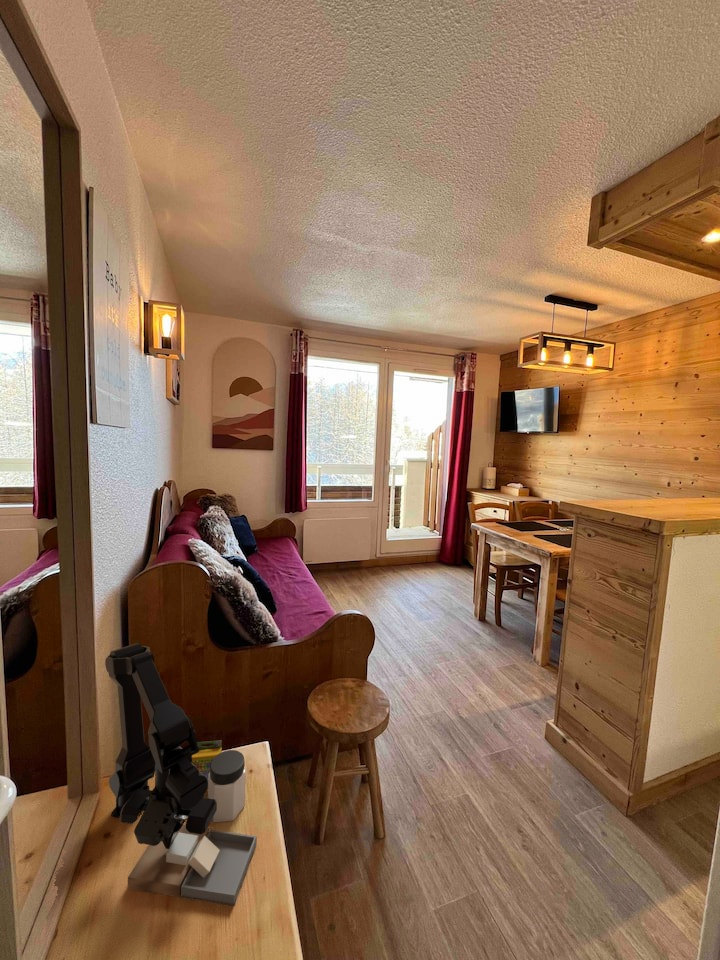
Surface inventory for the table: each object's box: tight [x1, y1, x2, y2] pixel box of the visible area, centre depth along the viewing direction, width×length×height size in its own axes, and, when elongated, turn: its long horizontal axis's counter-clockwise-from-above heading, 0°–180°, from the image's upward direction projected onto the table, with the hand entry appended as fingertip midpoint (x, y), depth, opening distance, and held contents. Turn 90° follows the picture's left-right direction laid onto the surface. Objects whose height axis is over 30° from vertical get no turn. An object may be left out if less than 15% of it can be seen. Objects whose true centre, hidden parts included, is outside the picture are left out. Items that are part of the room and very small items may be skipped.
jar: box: [207, 749, 247, 823], centre depth 96 cm, size 9×8×12 cm
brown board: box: [127, 824, 210, 898], centre depth 83 cm, size 11×12×2 cm
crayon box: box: [192, 739, 223, 791], centre depth 102 cm, size 7×3×12 cm, turn 101°
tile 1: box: [166, 832, 198, 865], centre depth 83 cm, size 4×4×2 cm
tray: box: [180, 829, 258, 907], centre depth 82 cm, size 11×12×2 cm
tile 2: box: [188, 836, 220, 878], centre depth 83 cm, size 4×4×2 cm
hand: (168, 847), depth 83 cm, fingers closed
